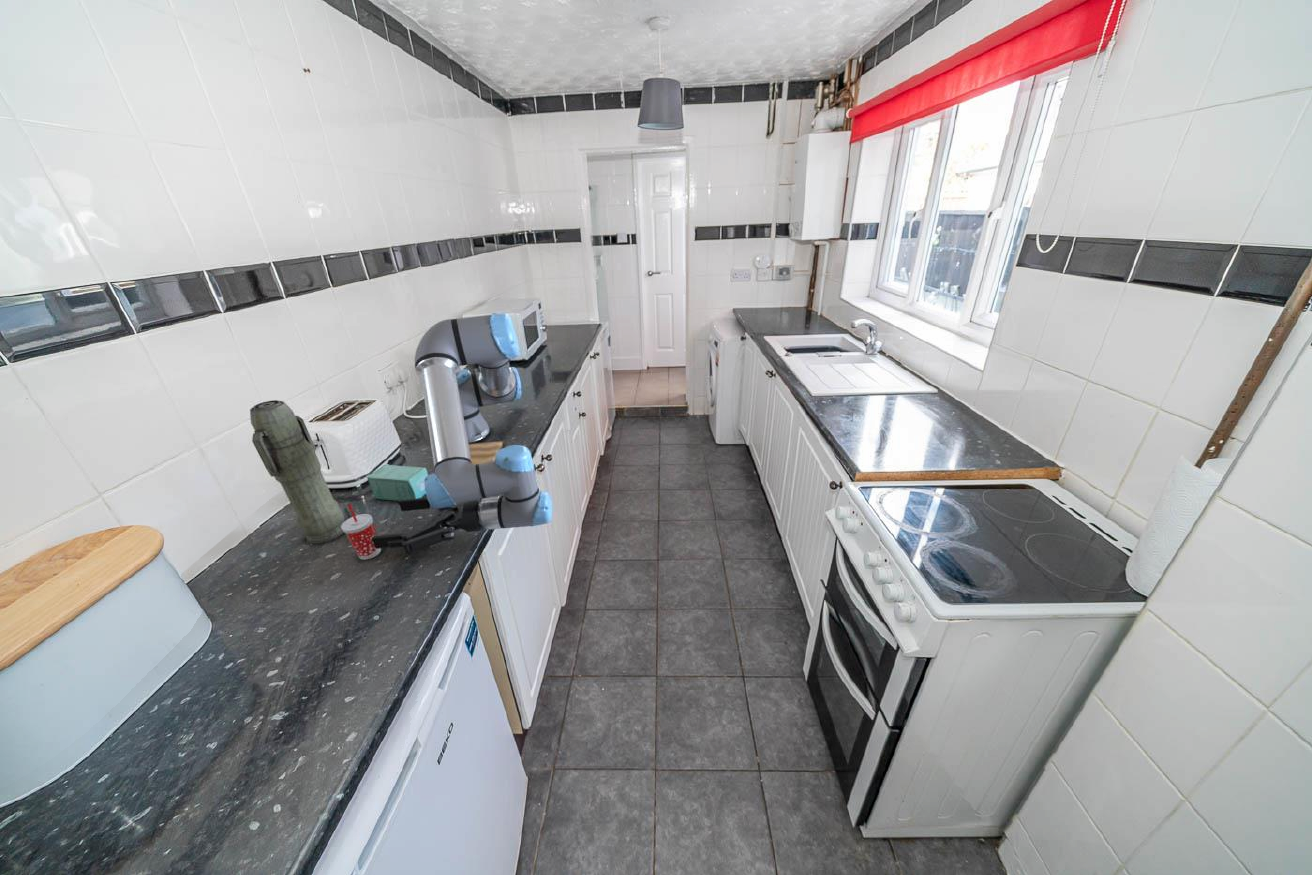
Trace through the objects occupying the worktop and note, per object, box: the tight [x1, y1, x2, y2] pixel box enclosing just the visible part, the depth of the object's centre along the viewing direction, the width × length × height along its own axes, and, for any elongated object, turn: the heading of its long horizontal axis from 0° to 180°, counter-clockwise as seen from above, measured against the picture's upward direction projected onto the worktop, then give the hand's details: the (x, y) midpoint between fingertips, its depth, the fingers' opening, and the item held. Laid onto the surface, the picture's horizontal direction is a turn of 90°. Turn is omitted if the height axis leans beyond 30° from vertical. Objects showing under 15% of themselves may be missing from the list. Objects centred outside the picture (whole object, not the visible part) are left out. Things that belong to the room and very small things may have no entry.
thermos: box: [249, 399, 346, 545], centre depth 106 cm, size 9×12×35 cm
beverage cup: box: [341, 502, 382, 561], centre depth 103 cm, size 6×6×14 cm
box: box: [366, 464, 429, 502], centre depth 127 cm, size 7×14×8 cm, turn 79°
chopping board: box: [468, 441, 503, 465], centre depth 144 cm, size 18×12×2 cm, turn 5°
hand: (388, 523), depth 103 cm, fingers open, 13 cm apart
